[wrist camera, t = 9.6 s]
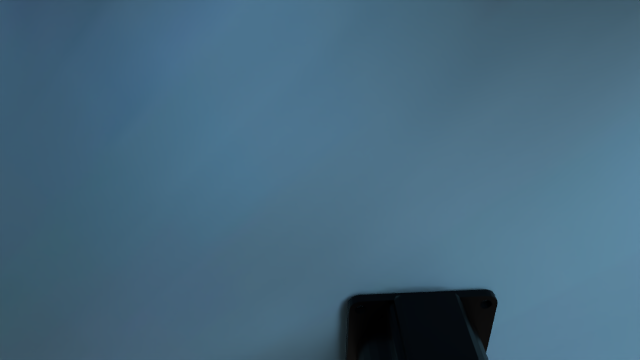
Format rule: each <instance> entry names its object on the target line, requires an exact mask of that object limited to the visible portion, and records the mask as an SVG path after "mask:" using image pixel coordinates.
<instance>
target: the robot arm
mask: <svg viewBox="0 0 640 360" xmlns="http://www.w3.org/2000/svg"><path fill="white" fill-rule="evenodd" d="M485 300H487V301H485ZM483 301H485V302H483ZM358 306H363V307H360V308H359V307H358ZM496 308H497V299H496V297H495V294H494V293H493V292H492V291H490V290H463V291H440V292H416V293H392V294H369V295H357V296H354V297H352V298H351V299H350V300H349V303H348V318H347V341H346V360H488V357H487V355H486V351H487V347H488V342H489V338H490V334H491V329H492V325H493V321H494V316H495V312H496Z"/></svg>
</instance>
